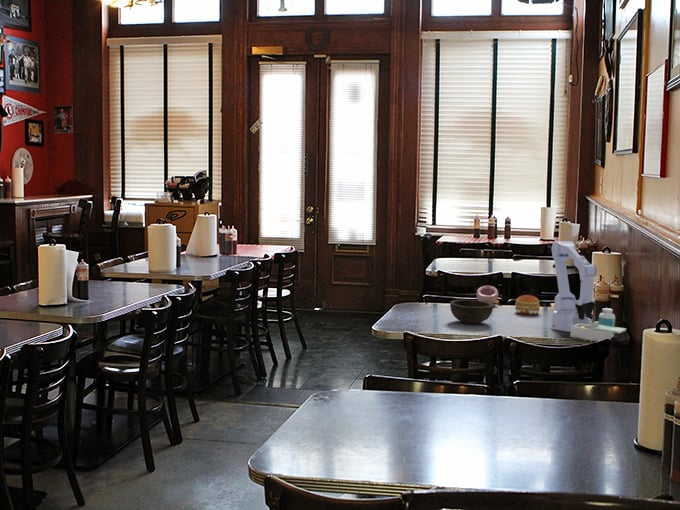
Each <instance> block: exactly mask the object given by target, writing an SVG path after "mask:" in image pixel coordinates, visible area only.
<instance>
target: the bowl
mask: <svg viewBox="0 0 680 510" xmlns="http://www.w3.org/2000/svg"><path fill="white" fill-rule="evenodd" d="M449 305H450V312H451V314H452V315H453V317H455V319H457V320H458V321H460V322H461V323H465V324H469V325H472V324H473V325H474V324H481V323H483V322H485V321H486V320H488V319H489V318H490V316H491V315H492V313H493V309H494V303H493V304H492V303H489V302H485V301H479V300H478V299H477V300H476V299H456V300H455V299H454V300H451V301H450V303H449Z"/></svg>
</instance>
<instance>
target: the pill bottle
mask: <svg viewBox="0 0 680 510" xmlns="http://www.w3.org/2000/svg"><path fill="white" fill-rule="evenodd" d="M613 310H614V309H612V308H610V307H609V308H608V307H605V308H602V310H601V311H602V312H600V313H599V315H598V322H599V325H606V326H612V327H616V326H615V323H616V315H615V314H614V313H613ZM614 335H615V333H614V332H611V339H612V338H613V337H615V336H614Z"/></svg>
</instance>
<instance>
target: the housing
mask: <svg viewBox="0 0 680 510" xmlns="http://www.w3.org/2000/svg"><path fill="white" fill-rule="evenodd" d="M580 326H586V327H587V328H581V327H580ZM590 327H591V324H585V323H581V322H580V323H579V322H578V323H576V324H574V325H573V324H572V326H571V331H570V335H569V338H570V337H573V338H581V339H586V340H590V341H589V342H592V341H599V340H604V339H609V340H610V341H611V340H612V338H611V332H607V331H600V330H595V329H590ZM573 338H572V339H573ZM586 340H585V341H586Z"/></svg>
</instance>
